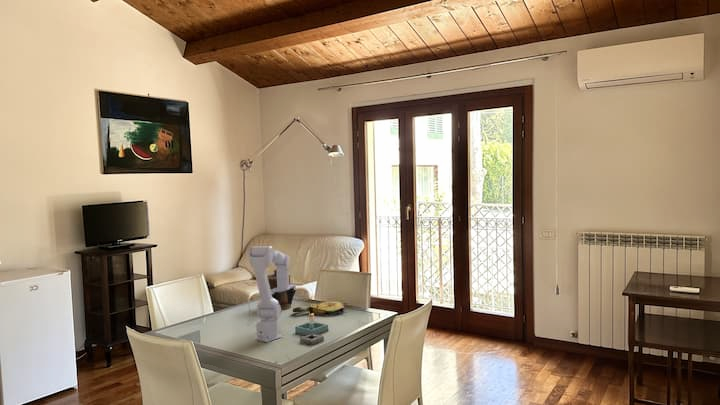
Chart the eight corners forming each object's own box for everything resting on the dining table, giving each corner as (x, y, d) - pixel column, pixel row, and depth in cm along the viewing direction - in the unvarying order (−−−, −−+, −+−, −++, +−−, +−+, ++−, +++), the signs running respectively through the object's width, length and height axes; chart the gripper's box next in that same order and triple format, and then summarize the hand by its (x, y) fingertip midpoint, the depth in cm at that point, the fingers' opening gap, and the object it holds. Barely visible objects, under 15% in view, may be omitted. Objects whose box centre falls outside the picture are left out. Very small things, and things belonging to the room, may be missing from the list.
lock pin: (311, 331, 231) (311, 315, 231) (307, 330, 233) (307, 314, 232) (315, 330, 233) (315, 313, 233) (311, 329, 235) (311, 313, 234)
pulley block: (293, 299, 272) (347, 297, 273) (293, 309, 273) (347, 307, 274) (290, 310, 258) (347, 307, 259) (291, 320, 259) (348, 318, 261)
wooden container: (296, 306, 281) (295, 268, 280) (276, 312, 270) (274, 273, 269) (280, 303, 291) (278, 266, 290) (259, 308, 280) (258, 270, 279)
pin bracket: (312, 345, 213) (311, 340, 213) (300, 342, 218) (299, 337, 218) (323, 340, 219) (323, 336, 219) (311, 337, 224) (311, 333, 224)
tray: (311, 337, 225) (311, 330, 225) (295, 332, 232) (295, 326, 232) (328, 330, 234) (328, 324, 233) (311, 327, 241) (311, 321, 240)
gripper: (276, 281, 234) (277, 310, 235) (299, 276, 245) (300, 303, 246) (267, 280, 239) (268, 307, 240) (290, 275, 250) (291, 301, 250)
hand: (283, 305), depth 243 cm, fingers open, 7 cm apart
